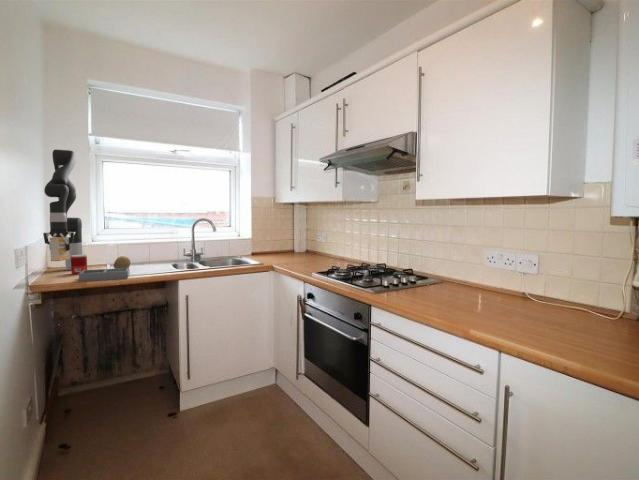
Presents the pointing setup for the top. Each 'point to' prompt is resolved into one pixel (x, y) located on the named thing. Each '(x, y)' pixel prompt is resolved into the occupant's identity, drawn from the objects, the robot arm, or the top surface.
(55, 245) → the supplement box
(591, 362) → the top surface
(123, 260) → the natural sponge
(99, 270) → the organiser tray
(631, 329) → the top surface
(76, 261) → the canned food
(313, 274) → the top surface
